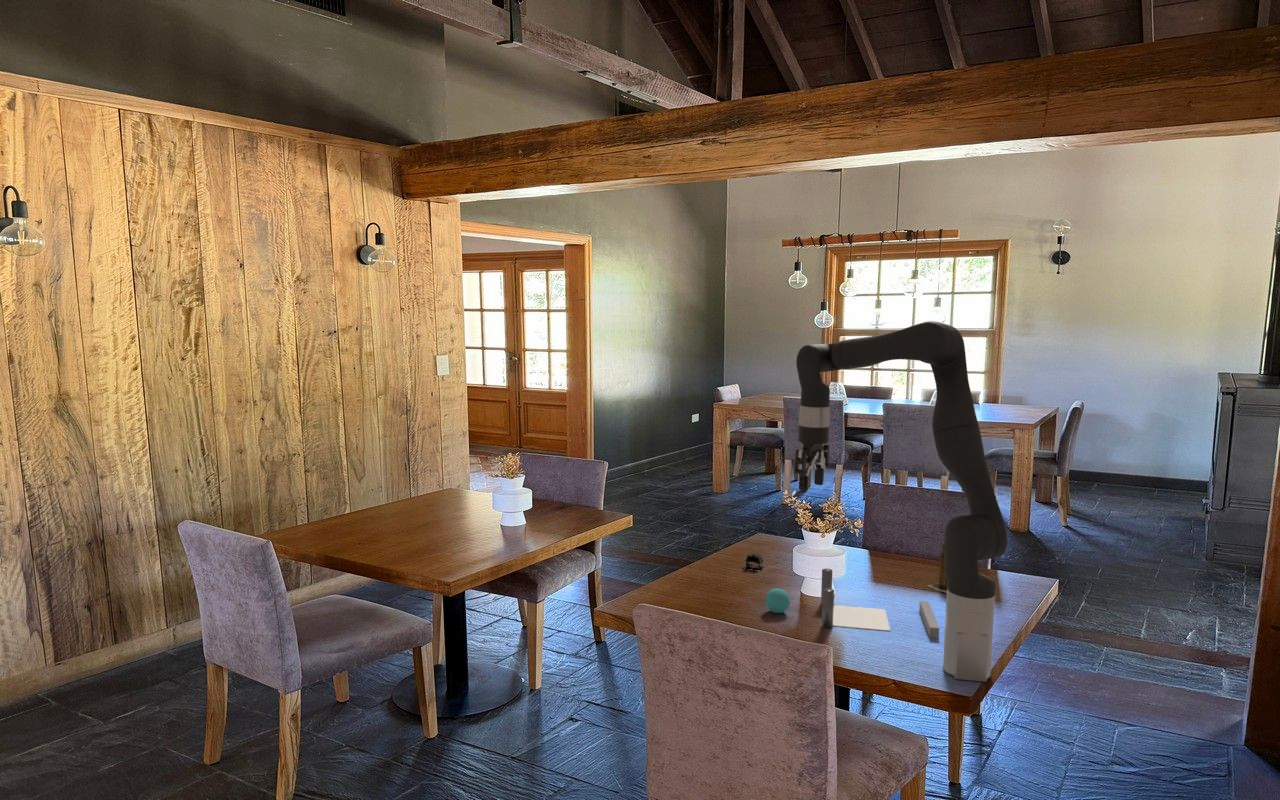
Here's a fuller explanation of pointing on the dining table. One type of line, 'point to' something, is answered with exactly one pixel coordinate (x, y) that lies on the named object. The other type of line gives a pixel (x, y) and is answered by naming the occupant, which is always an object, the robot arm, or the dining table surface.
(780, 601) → the ball
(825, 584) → the post back
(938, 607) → the dining table surface
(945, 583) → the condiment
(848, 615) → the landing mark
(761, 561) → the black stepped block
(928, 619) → the wall
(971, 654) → the robot arm
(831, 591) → the post front
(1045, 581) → the dining table surface
